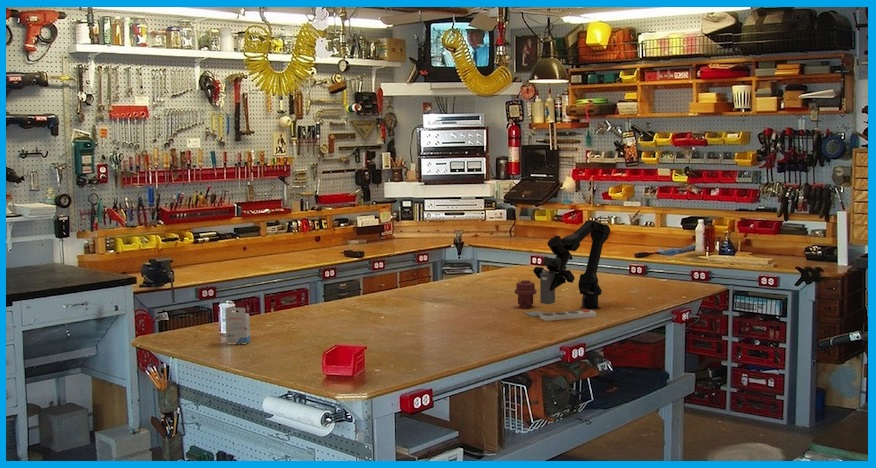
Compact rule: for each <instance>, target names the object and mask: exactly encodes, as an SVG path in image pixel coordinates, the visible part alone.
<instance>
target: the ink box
mask: <svg viewBox="0 0 876 468" xmlns="http://www.w3.org/2000/svg"><path fill="white" fill-rule="evenodd" d="M235 311H237V312H235ZM250 323H251V322H250V313H246V307H225V337H226V338H225V339H226V341H225V342H226V344H227V343H247V342H249V341H250V342H251V327H250ZM250 342H249V343H250Z"/></svg>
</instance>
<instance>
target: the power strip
mask: <svg viewBox="0 0 876 468" xmlns="http://www.w3.org/2000/svg"><path fill="white" fill-rule="evenodd" d="M574 318H575V319H583V318H587V319H588V318H597V312H596V311H594V310H592V309H586V308H582V309H581V310H571V311H558V312H557V311H556V312H544V313H543V314H540V316H539V319H540V320H542V319H543V321H545V322H546V321H547V322H548V321H559V320H573V319H574Z"/></svg>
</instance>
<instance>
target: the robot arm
mask: <svg viewBox="0 0 876 468" xmlns="http://www.w3.org/2000/svg"><path fill="white" fill-rule="evenodd" d="M610 233H611V227H610V226H609V224H608V223H607V224H605V223H601V222H598V221H596V220H594V219H593V220H592V219H591V220H590V219H587V220H585V221H584V223H583V224H582V225H581V226H580V227H578V229H576V230H575V231H574V232H573V233H571V234H568V235H565V236H564V237H562V238H561V236H560V235H555V236H554V237H552V238H550V239H549V240H548V241H547V246H548V248H549V249H550V251H551V252H552V254H553V255H555V257H546V256H544V257H543V258H544V259H543V261H542V265H543V266H546V269H545V268H544V267H541V266H534V268H533V270H532V272H533V273H534V275H535V276H536V278H537V279H539V280H540V273H545V272H550V273H555V279H554V281H553V283H552V285H551V287H550V291H552V290H554V289H555V290H556V289H557V288H558V287H560V286H561V285H563V284H566V282H567V283H569V284H570V283H574V281H575V278H576V277H575V275H574V274H573V273H572V271H571V270H570V269H567V268H568V267H567V265H568V262H569V260H570V261H572V260H573V259H574V258H573V255H572V253H571V252H576V251H577V250H578V249H579V247H580V246H581V242H582V241H584V239H586V237H588V236H589V235H590V238H591V246H590V251H589V255H588V260H587V262H586V263H587V264H586V269H585V272H583V273H580V275H579V279H578V283H577V284H578V291H579V295H582V297H581V308H582V309H588V310H594V309H600V308H601V307H600V306H599V296H601V295H602V292H603V291H602V289H601V287H600V285H599V279H598V275H597V272H598V268H599V264H600V263H599V262H600V259H601V254H602V250H603V247H604V246H603V245H604V243H605V242H606V241H607V240H608V239H609V236H610Z"/></svg>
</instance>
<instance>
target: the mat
mask: <svg viewBox="0 0 876 468" xmlns="http://www.w3.org/2000/svg"><path fill="white" fill-rule="evenodd" d="M543 313H545V312H543V311H532V312H530V311H529V312H524V314H525V315H527V316H529V317H532V318H535V317H540V314H543Z"/></svg>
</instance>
